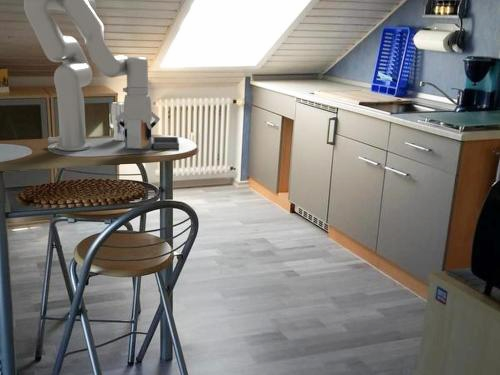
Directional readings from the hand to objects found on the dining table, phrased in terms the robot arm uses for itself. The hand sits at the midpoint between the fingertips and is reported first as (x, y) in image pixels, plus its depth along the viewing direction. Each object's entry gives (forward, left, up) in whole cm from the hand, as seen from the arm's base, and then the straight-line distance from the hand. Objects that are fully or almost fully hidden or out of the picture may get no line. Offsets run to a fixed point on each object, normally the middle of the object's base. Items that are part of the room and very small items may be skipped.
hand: (138, 138), depth 224 cm
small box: (0, 0, -3) cm, 3 cm away
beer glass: (-8, +23, -5) cm, 25 cm away
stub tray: (+10, +10, -5) cm, 15 cm away
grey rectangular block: (0, +8, -5) cm, 10 cm away
